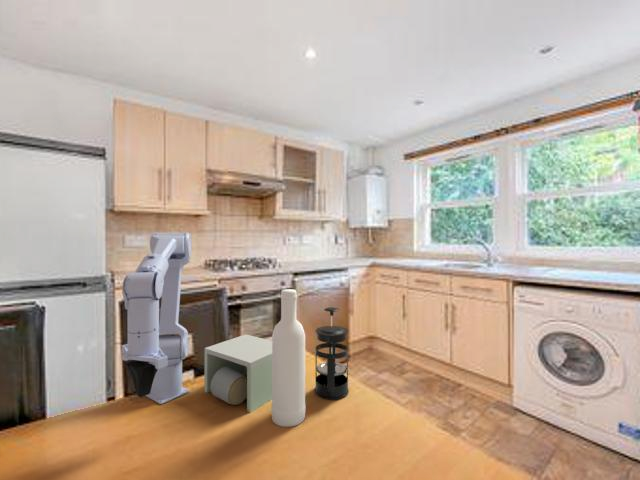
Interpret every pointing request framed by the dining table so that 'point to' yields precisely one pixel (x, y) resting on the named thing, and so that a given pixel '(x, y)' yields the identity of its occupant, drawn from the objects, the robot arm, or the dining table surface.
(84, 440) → the dining table surface
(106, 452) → the dining table surface
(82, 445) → the dining table surface
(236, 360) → the counter shelf
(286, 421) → the bottle
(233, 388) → the ceramic mug
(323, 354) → the french press
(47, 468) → the dining table surface
